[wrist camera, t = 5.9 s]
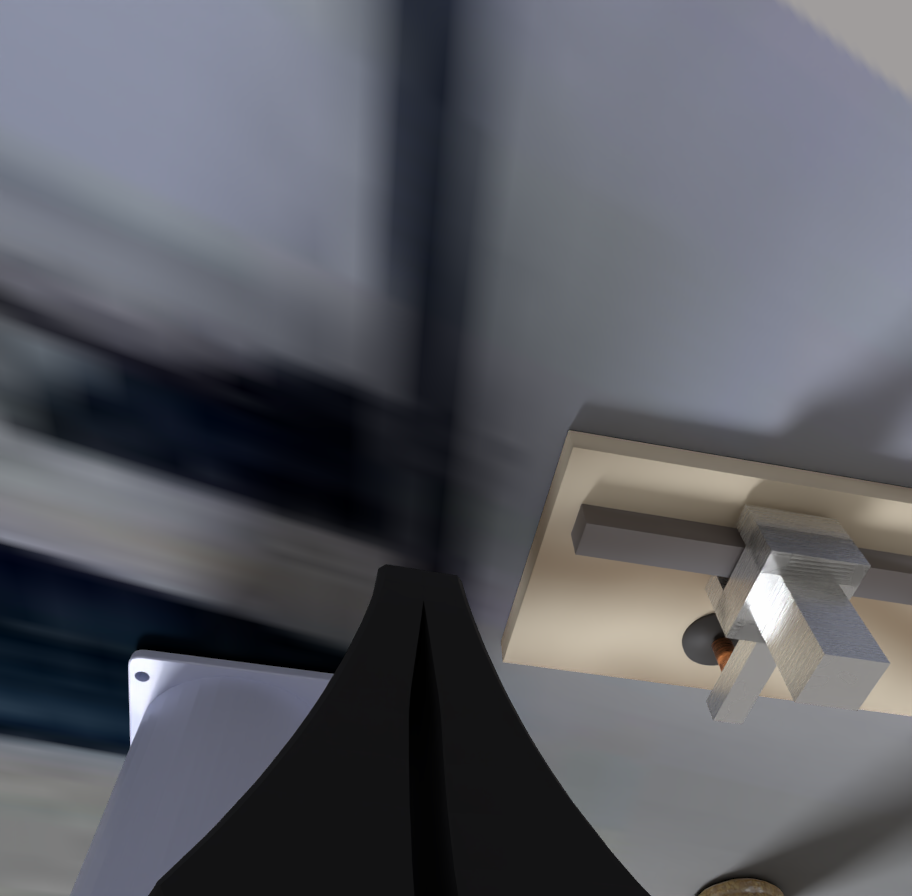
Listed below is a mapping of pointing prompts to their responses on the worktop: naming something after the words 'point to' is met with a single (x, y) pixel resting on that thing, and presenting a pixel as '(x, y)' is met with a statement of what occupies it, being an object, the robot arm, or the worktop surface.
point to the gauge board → (688, 563)
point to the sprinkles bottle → (742, 888)
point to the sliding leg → (792, 616)
